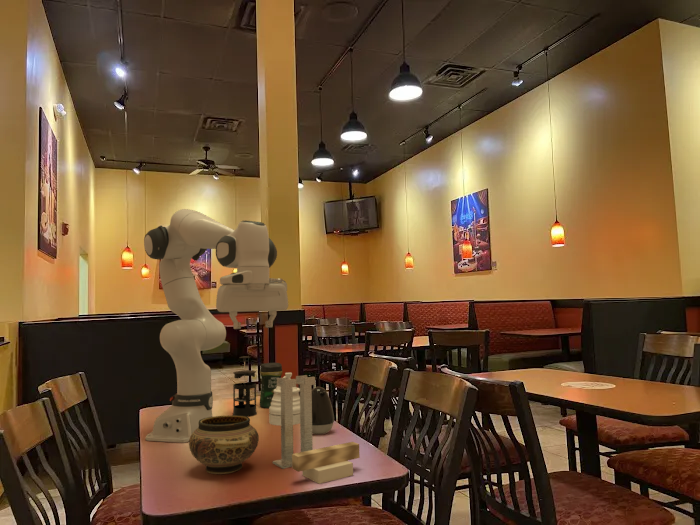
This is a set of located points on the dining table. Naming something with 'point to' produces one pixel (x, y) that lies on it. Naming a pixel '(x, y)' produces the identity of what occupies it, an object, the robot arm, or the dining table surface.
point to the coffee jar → (269, 382)
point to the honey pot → (276, 405)
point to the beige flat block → (329, 472)
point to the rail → (325, 456)
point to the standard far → (305, 411)
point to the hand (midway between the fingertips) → (253, 328)
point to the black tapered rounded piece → (321, 411)
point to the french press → (244, 408)
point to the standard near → (286, 422)
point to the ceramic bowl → (223, 443)
